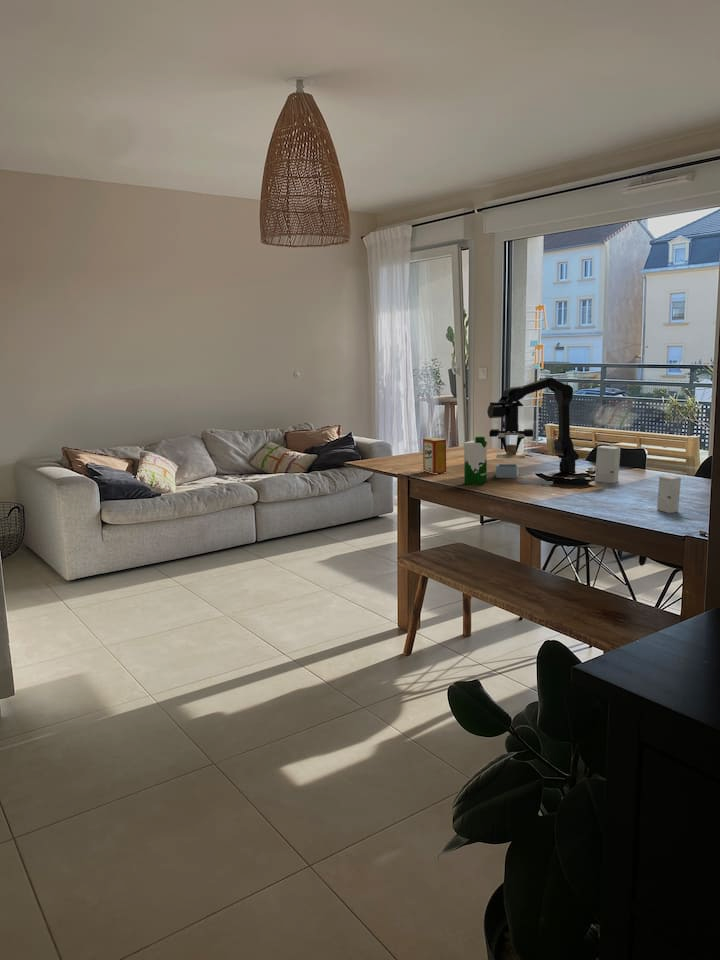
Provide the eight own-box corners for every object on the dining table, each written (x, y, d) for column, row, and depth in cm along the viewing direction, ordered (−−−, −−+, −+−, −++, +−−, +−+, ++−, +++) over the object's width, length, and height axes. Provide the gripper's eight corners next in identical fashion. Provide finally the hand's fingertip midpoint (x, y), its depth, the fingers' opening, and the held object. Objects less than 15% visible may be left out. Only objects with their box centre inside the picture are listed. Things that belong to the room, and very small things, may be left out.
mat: (553, 479, 326) (553, 478, 326) (552, 485, 312) (552, 484, 312) (520, 478, 329) (520, 477, 329) (518, 484, 316) (518, 483, 316)
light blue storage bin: (518, 475, 338) (518, 464, 337) (516, 478, 329) (516, 467, 328) (497, 474, 340) (497, 463, 339) (496, 478, 332) (496, 467, 331)
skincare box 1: (594, 481, 317) (595, 446, 315) (600, 479, 322) (601, 445, 319) (614, 483, 312) (615, 448, 309) (619, 481, 316) (620, 446, 314)
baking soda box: (423, 471, 354) (422, 438, 351) (435, 470, 357) (434, 436, 354) (434, 474, 346) (433, 440, 343) (446, 473, 349) (445, 438, 346)
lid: (525, 454, 335) (525, 443, 334) (524, 458, 324) (524, 447, 323) (498, 453, 338) (498, 443, 337) (496, 458, 326) (496, 447, 326)
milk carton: (480, 486, 316) (480, 438, 312) (461, 484, 321) (460, 437, 317) (489, 482, 323) (489, 436, 319) (470, 480, 328) (470, 435, 324)
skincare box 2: (656, 510, 264) (657, 476, 262) (665, 508, 266) (667, 474, 263) (670, 513, 258) (671, 478, 256) (679, 511, 260) (681, 477, 258)
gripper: (534, 415, 333) (533, 449, 336) (491, 415, 338) (491, 449, 340) (533, 417, 322) (532, 453, 325) (489, 417, 327) (489, 453, 330)
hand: (511, 452), depth 330 cm, fingers closed on lid, 4 cm apart
